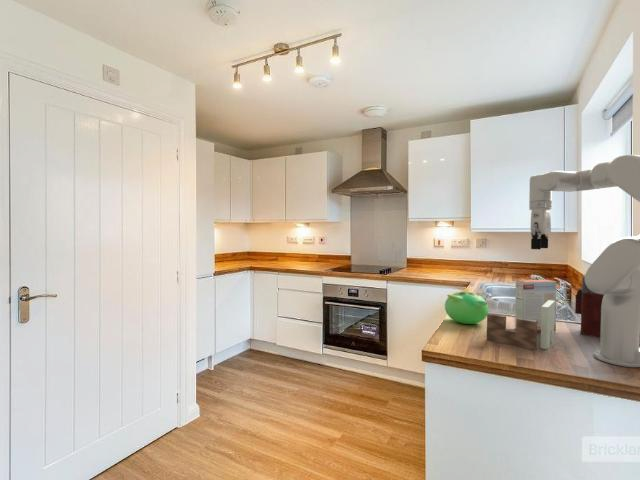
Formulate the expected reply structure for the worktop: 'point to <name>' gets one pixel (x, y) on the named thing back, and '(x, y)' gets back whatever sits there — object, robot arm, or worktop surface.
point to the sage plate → (547, 323)
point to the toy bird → (466, 307)
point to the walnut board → (512, 331)
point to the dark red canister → (589, 310)
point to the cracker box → (534, 299)
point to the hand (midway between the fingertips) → (539, 248)
